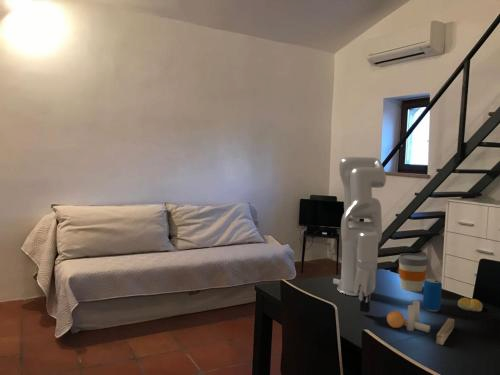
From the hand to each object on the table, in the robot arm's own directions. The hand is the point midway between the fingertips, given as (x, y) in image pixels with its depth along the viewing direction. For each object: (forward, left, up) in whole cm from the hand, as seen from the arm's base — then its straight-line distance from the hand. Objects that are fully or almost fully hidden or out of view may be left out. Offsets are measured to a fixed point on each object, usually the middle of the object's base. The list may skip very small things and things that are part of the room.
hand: (364, 311), depth 166 cm
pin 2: (+18, +3, -2) cm, 18 cm away
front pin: (+15, 0, 0) cm, 15 cm away
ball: (+13, -4, +2) cm, 14 cm away
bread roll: (+31, +35, -2) cm, 47 cm away
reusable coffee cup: (+5, +45, -2) cm, 45 cm away
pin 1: (+18, -3, -2) cm, 18 cm away
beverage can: (+19, +23, -2) cm, 30 cm away
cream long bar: (+29, 0, -2) cm, 29 cm away
